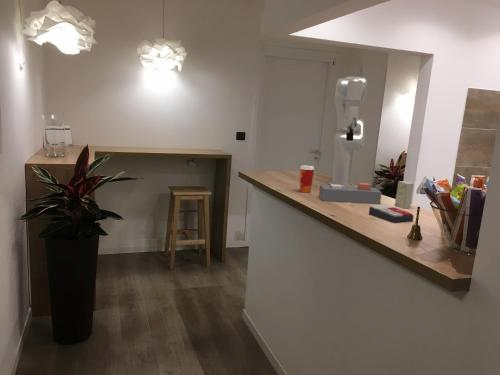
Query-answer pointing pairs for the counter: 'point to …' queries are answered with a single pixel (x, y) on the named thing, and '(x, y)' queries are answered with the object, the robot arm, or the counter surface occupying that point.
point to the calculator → (391, 214)
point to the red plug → (364, 186)
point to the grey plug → (335, 186)
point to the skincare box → (404, 194)
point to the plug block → (349, 195)
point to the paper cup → (306, 178)
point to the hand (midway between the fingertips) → (349, 140)
